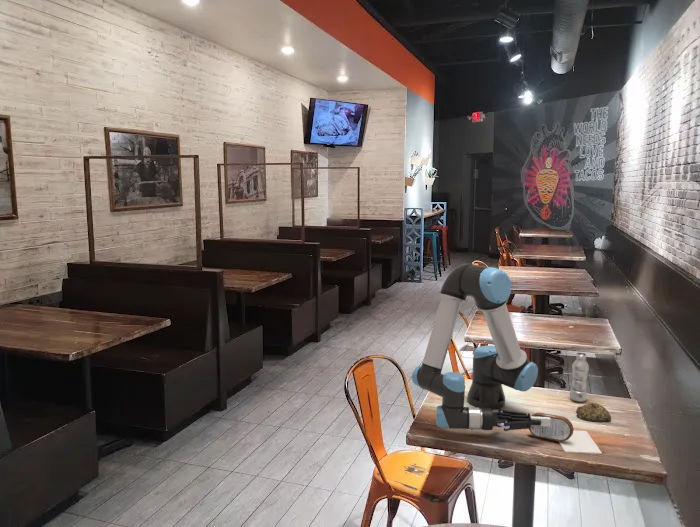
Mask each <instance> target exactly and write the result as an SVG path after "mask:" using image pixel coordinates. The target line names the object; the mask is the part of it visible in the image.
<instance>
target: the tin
mask: <svg viewBox="0 0 700 527" xmlns="http://www.w3.org/2000/svg"><path fill="white" fill-rule="evenodd" d="M531 416H534V417H550V419H551V422H550V426H531V428H530V429H528V430H529V432H530V433H531V434H532V435H533V436H534V437H537V438H541V439H546V440H551V441H556V442H558V441H566V440H568V439H569V438H570V437H571V436H572V434H573V430H574V426H573V423H572V421H571V420H569V418H567V417H565V416H562V415H556V414H552V413H551V414H550V413H544V412H535V413H533V414H532V415H531Z"/></svg>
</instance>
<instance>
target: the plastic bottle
mask: <svg viewBox="0 0 700 527" xmlns="http://www.w3.org/2000/svg"><path fill="white" fill-rule="evenodd" d="M575 358H576V359H575V360H574V362H573V363H572V365H571V366H572V367H571V368H572V369H571V370H572V382H571V388H570V391H569V396H570V399H571V400H572V401H575V402H577V403H578V402H579V403H582V402H585V401H587V400H586V399H587V397H588V394H587V393H588V392H587V380H588V378H587V377H588V374H589V369H590V367H589V364H588V361H587V354H586V353H584V352H577V353H576V357H575Z"/></svg>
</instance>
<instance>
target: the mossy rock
mask: <svg viewBox="0 0 700 527" xmlns="http://www.w3.org/2000/svg"><path fill="white" fill-rule="evenodd" d="M575 413H576V415H575V416H576V417H577V418H578V419H580V420H583V421H588V422H595V423H596V422H598V423H609V422H611V420H612V416H611V414H610V412H609V411H608V409H607V408H605V407H604V406H603V405H601V404H599V403H597V402H590V403H587V404H583V405H580V406H577V408H576V410H575Z"/></svg>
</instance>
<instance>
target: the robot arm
mask: <svg viewBox="0 0 700 527" xmlns="http://www.w3.org/2000/svg"><path fill="white" fill-rule="evenodd" d="M511 280H512V279H511V278H510V276H509V275H508V273H507V272H506V271H504V270H503V269H499V268H496V267H493V266H492V267H491V266H483V265H479V264H473V263H463V264H461V265H458V266H456V267H454V269H453V270H452V271H451V272H450V273H449V274H448V276H447V277H446V278H445V280H444V282H443V284H442V287H441V289H440V292H439V295H440V297H441V299H440V302H439V306H438V308H437V311H436V312H437V313H436V316H435V319H434V323H433V325H432V329H431V333H430V336H429V340H428V343H427V346H426V350H425V353H424V356H423V359H422V360H423V361H422V363H421V365H418V366H416V367H415V368H414V370H413V371H412V373H411V380H412V383H413V384H414V385H415V386H418V387H419V388H421V389H422V390H425V391H428V392H430V393H432V394H434V395H436V396H439V397H441V398H442V399H441V400H442V402H441V405H437V406H436V408H435V409H436V410H435V421H436V422H435V423H436V426H437V428H444V429H448V430H449V429H456V430H457V429H461V430H462V429H463V430H471V431H473V430H480V429H481V430H482V431H493V429H494V427H495V428H496V427H497V428H503V431H505V432H508V431H514V430H515V431H516V430H529V429H530V428H531V426H550V422H551V419H550V417H534V416H532V415H531V414H530V413H526V412H520V411H519V412H518V411H512V410H505V409H502V408H503V407H505V405H506V395H505V392H504V388H503V386H507V387H508V388H510V389H513V390H515V391H519V392H527V391H529V390H530V389H532V388H533V386H534V384H535V383H536V380H537V377H538V374H539V368H538V366H537V364H536V363H534V361H530V360H529V358H528V355H527V353H526V351H525V350H523V349H521V347H520V343H519V341H518V337H517V334H516V331H515V327H514V324H513V322H512V319H511V316H510V312H509V309H508V307H507V303H508V301H509V298H510V296H511V293H512V290H511V289H512V281H511ZM467 297H471V298H472V299H473V301H474V303H475V306H476V308H477V309H479V310H480V311H482V312H483V316H484V318H485V322H486V324H487V327H488V330H489V334H490V336H491V339H492V342H493V345H482V346H478V347H476V348H475V349H474V351H473V356H472V381H471V382H472V383H471V385H470V386H469V390H468V392H467V398H466V401H467V403H468V404H470V405H471V406H464V405H465V393H466V390H465V389H466V385H465V384H466V383H465V380H466V379H465V376H464V375H463V374H462V373H460V372H455V371H449V372H448V371H447V372H445V373H444V374H443V373H442V371H443V366H444V364H445V360H446V357H447V353H448V350H449V347H450V343H451V340H452V336H453V333H454V330H455V326H456V323H457V320H458V317H459V313H460V310H461V307H462V304H464V303H465V302H466V301H467V300H466V299H467ZM497 409H498V410H497ZM493 410H497V411H493Z"/></svg>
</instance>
